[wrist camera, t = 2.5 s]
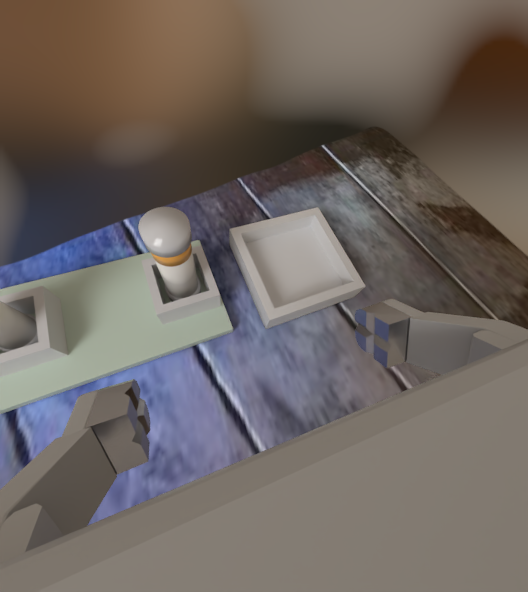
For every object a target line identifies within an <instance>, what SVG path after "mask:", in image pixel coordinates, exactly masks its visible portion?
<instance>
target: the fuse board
mask: <svg viewBox="0 0 528 592" xmlns="http://www.w3.org/2000/svg"><path fill="white" fill-rule="evenodd" d="M191 245H192V254H193V259H194V264H195V269H196V275H197V276H198V278H199V280H200V285H201V293H199V294H196V295H193V296H189V297H186V298H183V299H180V300H176V301H173V302H172V301H171V300H170V299H169V297H168V295H167V293H166V290H165V283H164V281H163V278H162V276H161V274H160V271H159V269H158V267H157V264H156V262H155V260H154V259H153V257H152V255H151V252H148V253H144V254H140V255H136V256H132V257H128V258H124V259H120V260H116V261H112V262H108V263H104V264H100V265H96V266H92V267H88V268H84V269H80V270H76V271H72V272H68V273H64V274H60V275H56V276H52V277H48V278H44V279H40V280H36V281H32V282H28V283H24V284H20V285H16V286H12V287H8V288H4V289H0V301H2V302H3V303H5V304H7V305H9V306H11V307H13V308H15V309H16V310H18V311H20V312H22V313H25V314H30V315H33V316H34V317H36V324H37V334H38V343H34V344H31V345H28V346H25V347H21V348H18V349H15V350H11V351H8V352H5V351H2V350H0V414H2V413H5V412H8V411H11V410H13V409H16V408H19V407H22V406H25V405H27V404H30V403H33V402H36V401H39V400H42V399H44V398H47V397H50V396H53V395H56V394H59V393H61V392H64V391H67V390H70V389H73V388H75V387H78V386H81V385H84V384H87V383H90V382H92V381H95V380H98V379H101V378H104V377H107V376H109V375H112V374H115V373H118V372H121V371H123V370H126V369H129V368H132V367H135V366H138V365H140V364H143V363H146V362H149V361H152V360H155V359H157V358H160V357H163V356H166V355H169V354H172V353H174V352H177V351H180V350H183V349H186V348H188V347H191V346H194V345H197V344H200V343H203V342H205V341H208V340H211V339H214V338H217V337H220V336H222V335H225V334H228V333H231V332H233V327H232V325H231V322H230V319H229V317H228V314H227V312H226V309H225V306H224V304H223V301H222V298H221V296H220V293H219V290H218V288H217V285H216V283H215V280H214V277H213V275H212V272H211V269H210V267H209V264H208V262H207V259H206V256H205V254H204V251H203V249H202V246H201V243H200V241H199V240H197V241H193V242H191Z"/></svg>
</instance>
